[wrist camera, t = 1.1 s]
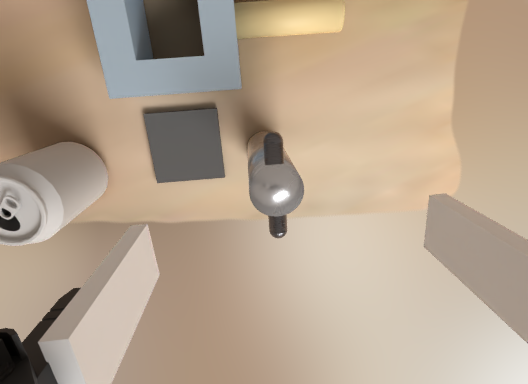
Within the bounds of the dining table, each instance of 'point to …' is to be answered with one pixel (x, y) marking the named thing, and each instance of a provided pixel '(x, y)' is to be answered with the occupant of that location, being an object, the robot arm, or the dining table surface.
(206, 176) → the mat
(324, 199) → the dining table surface
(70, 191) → the can
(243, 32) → the block
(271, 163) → the silver tall rounded piece
